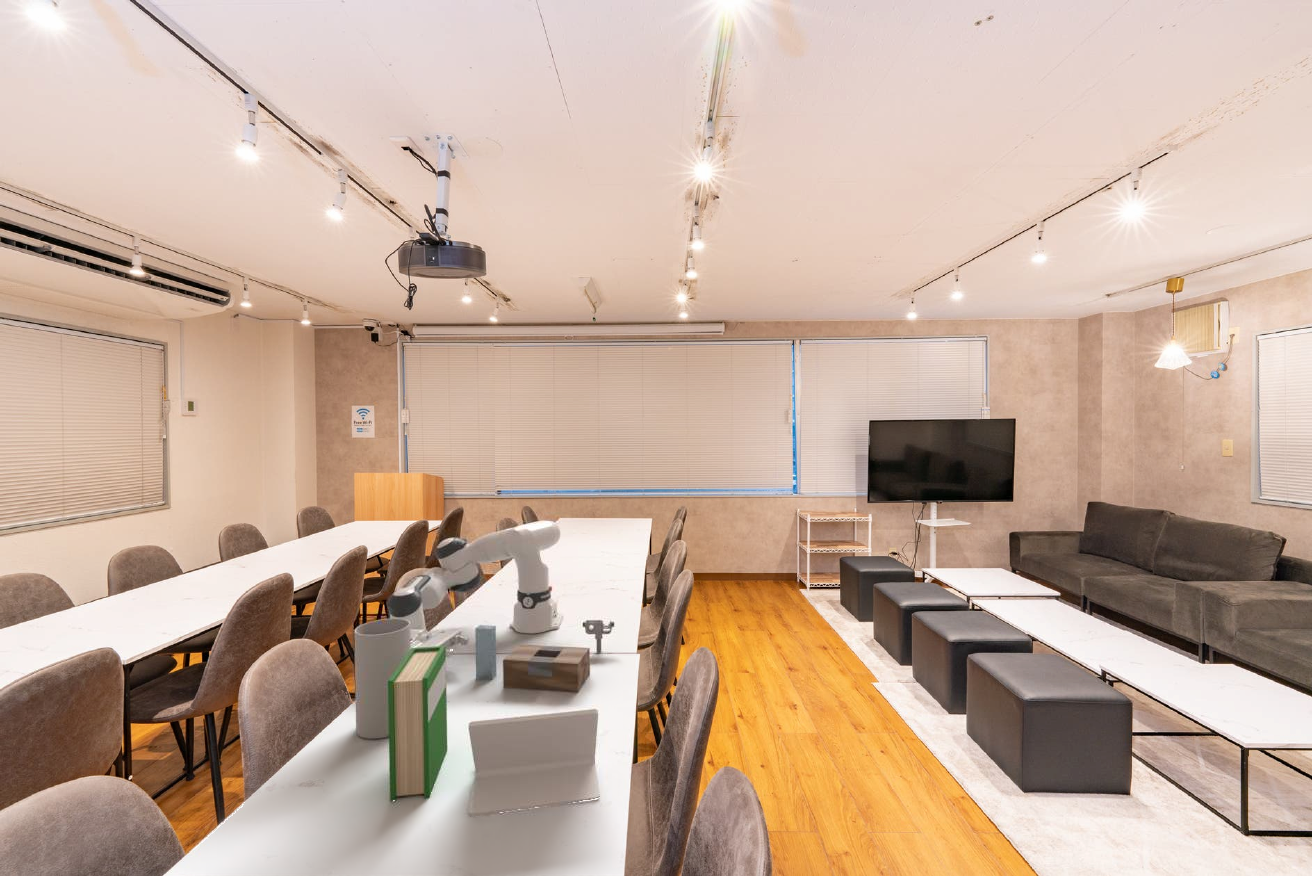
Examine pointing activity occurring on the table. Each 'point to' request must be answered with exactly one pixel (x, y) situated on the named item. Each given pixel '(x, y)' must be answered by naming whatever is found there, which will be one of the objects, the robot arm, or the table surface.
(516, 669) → the brown boxy piece
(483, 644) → the tall rectangular metal block
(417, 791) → the hardback book
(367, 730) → the cylinder vase
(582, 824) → the table surface
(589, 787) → the tablet stand
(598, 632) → the mechanical component
